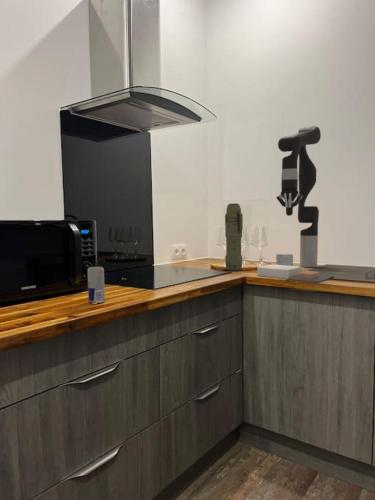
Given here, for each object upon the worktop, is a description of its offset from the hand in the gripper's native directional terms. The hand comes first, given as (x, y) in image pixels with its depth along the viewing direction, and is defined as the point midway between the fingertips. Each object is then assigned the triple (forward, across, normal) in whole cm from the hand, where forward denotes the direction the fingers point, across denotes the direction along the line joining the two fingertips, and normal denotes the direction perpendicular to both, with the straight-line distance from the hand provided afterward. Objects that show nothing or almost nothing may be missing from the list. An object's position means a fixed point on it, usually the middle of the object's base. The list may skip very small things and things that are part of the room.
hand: (289, 215), depth 183 cm
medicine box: (+29, +6, -8) cm, 31 cm away
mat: (+28, -14, +7) cm, 32 cm away
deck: (+28, +2, +7) cm, 29 cm away
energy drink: (+26, +25, +95) cm, 102 cm away
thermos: (+29, +30, +2) cm, 42 cm away
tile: (+26, -13, +7) cm, 29 cm away
